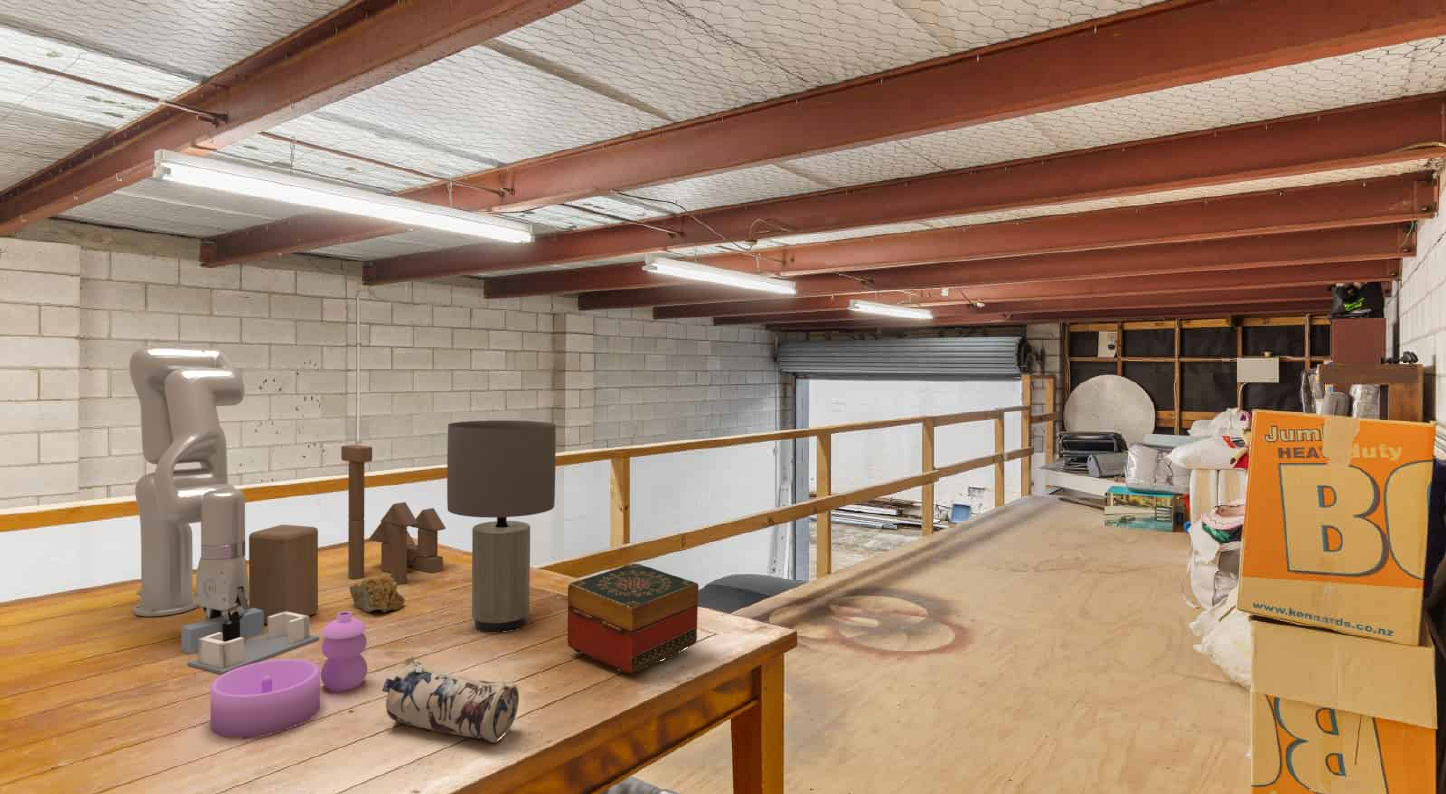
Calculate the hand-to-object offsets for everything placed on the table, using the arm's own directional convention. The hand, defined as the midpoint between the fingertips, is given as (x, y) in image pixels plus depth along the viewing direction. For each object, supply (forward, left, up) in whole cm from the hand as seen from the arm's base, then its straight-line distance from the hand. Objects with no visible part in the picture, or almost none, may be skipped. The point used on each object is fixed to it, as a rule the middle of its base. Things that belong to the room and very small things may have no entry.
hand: (223, 638), depth 157 cm
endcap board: (+11, -1, 0) cm, 11 cm away
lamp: (+43, +33, -1) cm, 54 cm away
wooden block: (-2, +15, -1) cm, 15 cm away
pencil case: (+68, -9, -1) cm, 69 cm away
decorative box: (+78, +30, -1) cm, 84 cm away
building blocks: (-8, +52, -1) cm, 53 cm away
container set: (+38, -13, -1) cm, 40 cm away
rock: (+10, +30, -1) cm, 31 cm away
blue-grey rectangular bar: (0, 0, -1) cm, 1 cm away
